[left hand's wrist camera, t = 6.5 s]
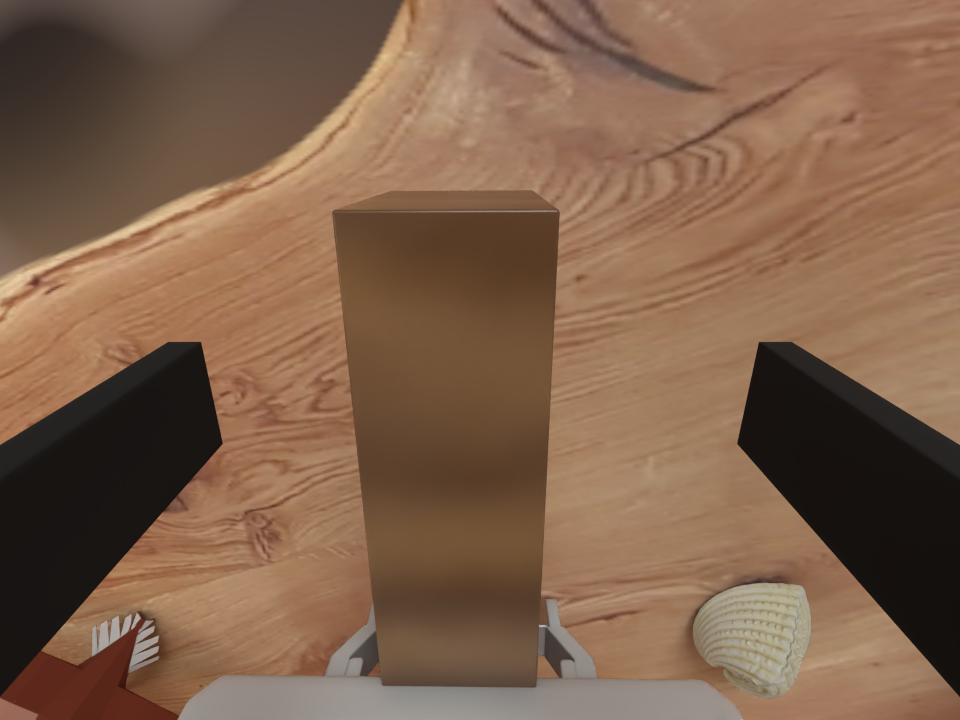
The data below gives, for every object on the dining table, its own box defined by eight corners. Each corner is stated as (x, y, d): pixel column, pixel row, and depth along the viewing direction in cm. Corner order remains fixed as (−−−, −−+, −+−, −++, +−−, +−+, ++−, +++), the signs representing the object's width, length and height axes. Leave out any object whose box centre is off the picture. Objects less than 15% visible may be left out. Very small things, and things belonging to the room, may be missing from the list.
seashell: (665, 654, 42) (736, 639, 36) (698, 574, 48) (764, 550, 42) (746, 731, 41) (833, 729, 35) (770, 640, 46) (849, 625, 40)
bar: (389, 191, 21) (331, 210, 13) (533, 190, 21) (559, 209, 13) (417, 623, 29) (391, 788, 21) (520, 624, 29) (531, 790, 21)
